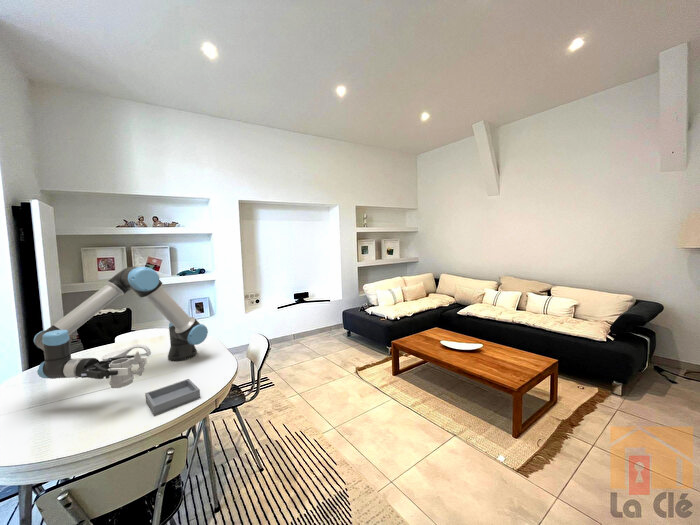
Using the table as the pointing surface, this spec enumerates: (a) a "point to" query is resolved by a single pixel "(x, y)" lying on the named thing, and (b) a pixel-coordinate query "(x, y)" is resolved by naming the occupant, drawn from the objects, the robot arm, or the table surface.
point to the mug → (128, 379)
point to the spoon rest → (125, 352)
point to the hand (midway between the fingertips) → (137, 365)
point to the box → (172, 396)
